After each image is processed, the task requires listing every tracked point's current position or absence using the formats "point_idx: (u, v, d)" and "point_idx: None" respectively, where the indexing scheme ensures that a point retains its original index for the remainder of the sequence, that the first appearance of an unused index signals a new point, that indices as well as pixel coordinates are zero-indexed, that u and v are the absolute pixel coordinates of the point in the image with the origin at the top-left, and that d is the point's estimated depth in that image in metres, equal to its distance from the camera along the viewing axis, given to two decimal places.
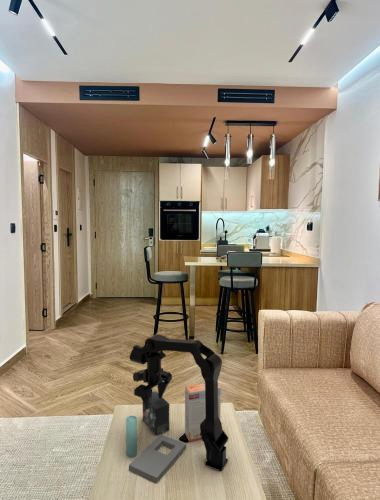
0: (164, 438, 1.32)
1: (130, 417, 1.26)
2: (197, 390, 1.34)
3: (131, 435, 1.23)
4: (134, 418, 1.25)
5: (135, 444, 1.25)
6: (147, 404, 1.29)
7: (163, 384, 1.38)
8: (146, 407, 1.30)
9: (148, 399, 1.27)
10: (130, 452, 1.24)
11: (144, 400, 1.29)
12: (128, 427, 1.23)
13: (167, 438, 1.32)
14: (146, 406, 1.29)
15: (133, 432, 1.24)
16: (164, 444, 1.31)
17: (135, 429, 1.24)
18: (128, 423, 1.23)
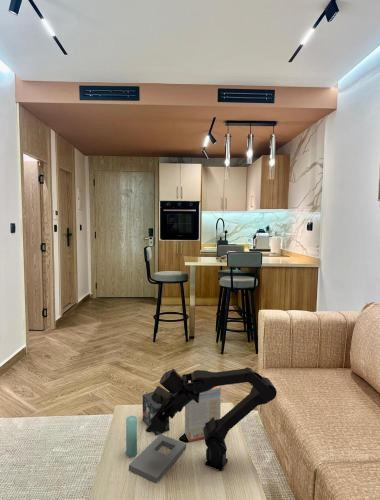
0: (164, 438, 1.32)
1: (130, 417, 1.26)
2: None
3: (131, 435, 1.23)
4: (134, 418, 1.25)
5: (135, 444, 1.25)
6: (152, 430, 1.17)
7: None
8: (148, 430, 1.18)
9: None
10: (130, 452, 1.24)
11: (152, 426, 1.17)
12: (128, 427, 1.23)
13: (167, 438, 1.32)
14: (149, 430, 1.18)
15: (133, 432, 1.24)
16: (164, 444, 1.31)
17: (135, 429, 1.24)
18: (128, 423, 1.23)
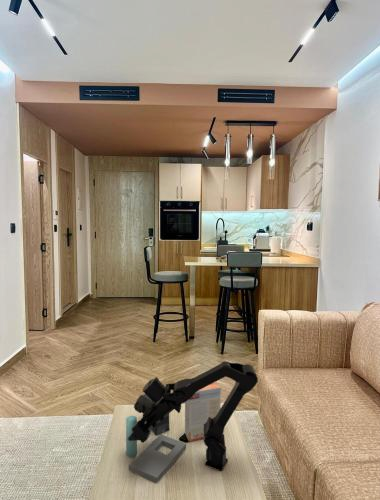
0: (164, 438, 1.32)
1: (130, 417, 1.26)
2: None
3: None
4: (134, 418, 1.25)
5: (135, 444, 1.25)
6: (134, 439, 1.19)
7: None
8: (130, 439, 1.20)
9: None
10: (130, 452, 1.24)
11: (134, 434, 1.18)
12: (128, 427, 1.23)
13: (167, 438, 1.32)
14: (131, 438, 1.20)
15: None
16: (164, 444, 1.31)
17: None
18: (128, 423, 1.23)
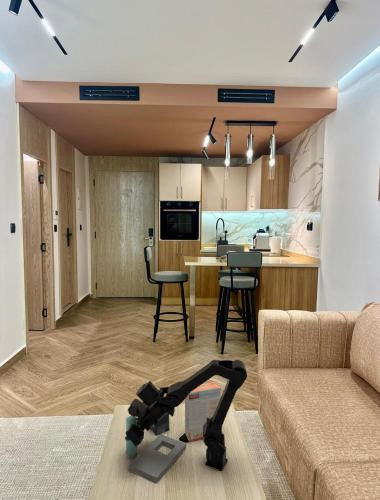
0: (164, 438, 1.32)
1: (130, 417, 1.26)
2: (197, 390, 1.34)
3: None
4: (134, 418, 1.25)
5: None
6: None
7: None
8: (127, 438, 1.23)
9: None
10: (130, 452, 1.24)
11: None
12: (128, 427, 1.23)
13: (167, 438, 1.32)
14: (128, 438, 1.23)
15: None
16: (164, 444, 1.31)
17: None
18: (128, 423, 1.23)
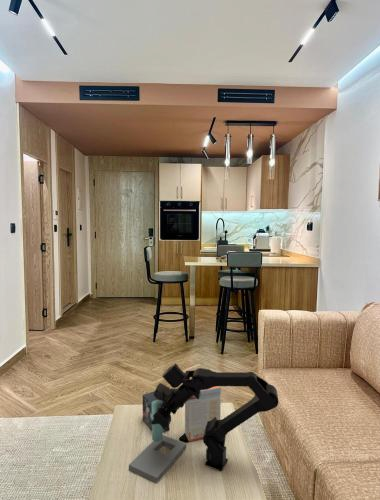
0: (164, 438, 1.32)
1: (155, 401, 1.26)
2: None
3: None
4: (159, 402, 1.25)
5: (161, 428, 1.25)
6: (157, 422, 1.22)
7: None
8: (153, 422, 1.23)
9: None
10: (156, 436, 1.24)
11: None
12: (154, 411, 1.23)
13: (167, 438, 1.32)
14: (154, 422, 1.23)
15: None
16: (164, 444, 1.31)
17: None
18: (154, 407, 1.23)
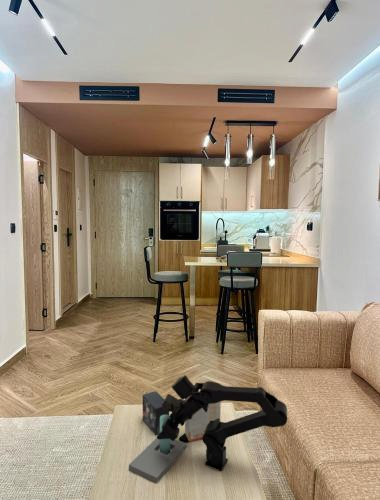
0: None
1: (163, 416, 1.27)
2: None
3: None
4: (168, 417, 1.26)
5: (169, 443, 1.26)
6: (163, 437, 1.21)
7: None
8: (159, 437, 1.22)
9: None
10: (164, 450, 1.25)
11: (163, 433, 1.20)
12: None
13: None
14: (160, 437, 1.21)
15: None
16: None
17: None
18: (162, 422, 1.24)
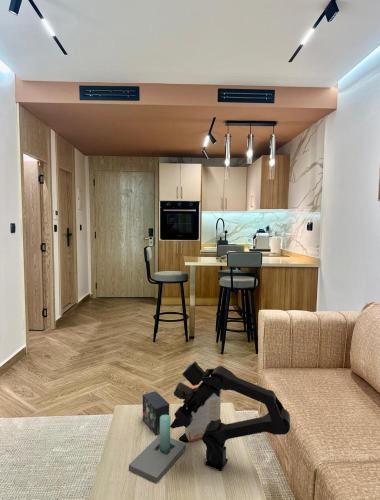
0: None
1: (163, 416, 1.27)
2: None
3: (165, 434, 1.24)
4: (168, 417, 1.26)
5: (169, 443, 1.26)
6: (177, 426, 1.19)
7: None
8: (172, 426, 1.20)
9: (183, 425, 1.17)
10: (164, 450, 1.25)
11: (176, 421, 1.18)
12: (162, 426, 1.24)
13: None
14: (173, 426, 1.19)
15: (167, 431, 1.25)
16: None
17: (169, 428, 1.25)
18: (162, 422, 1.24)
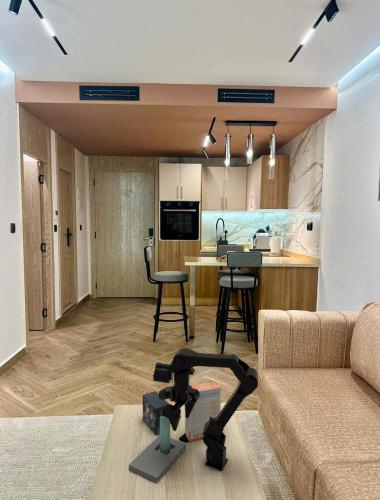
0: None
1: (163, 416, 1.27)
2: None
3: (165, 434, 1.24)
4: None
5: (169, 443, 1.26)
6: (175, 425, 1.18)
7: (190, 402, 1.27)
8: (174, 428, 1.19)
9: None
10: (164, 450, 1.25)
11: (172, 421, 1.18)
12: (162, 426, 1.24)
13: None
14: (174, 427, 1.19)
15: (167, 431, 1.25)
16: None
17: (169, 428, 1.25)
18: (162, 422, 1.24)
